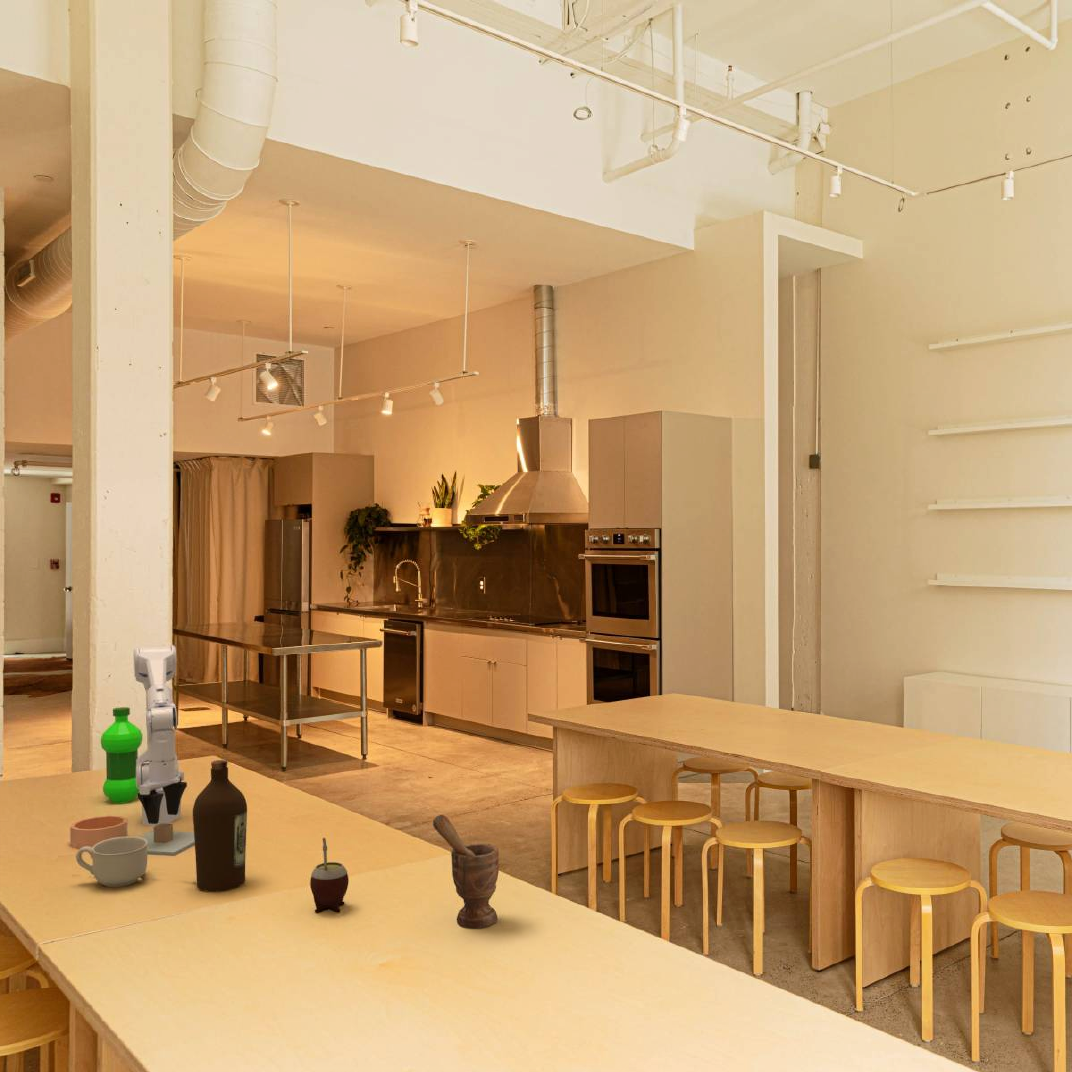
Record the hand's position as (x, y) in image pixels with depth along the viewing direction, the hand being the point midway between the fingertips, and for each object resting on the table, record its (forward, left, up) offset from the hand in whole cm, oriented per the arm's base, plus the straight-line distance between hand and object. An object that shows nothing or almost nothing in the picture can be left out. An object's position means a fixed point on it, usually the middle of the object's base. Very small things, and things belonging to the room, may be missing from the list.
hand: (163, 818), depth 237 cm
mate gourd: (+30, +55, -7) cm, 63 cm away
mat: (0, 0, -6) cm, 6 cm away
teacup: (+24, +4, -7) cm, 25 cm away
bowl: (+1, -16, -6) cm, 17 cm away
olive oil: (+21, +27, -7) cm, 35 cm away
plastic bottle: (-36, -36, -7) cm, 51 cm away
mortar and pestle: (+32, +83, -7) cm, 89 cm away
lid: (0, 0, -6) cm, 6 cm away
